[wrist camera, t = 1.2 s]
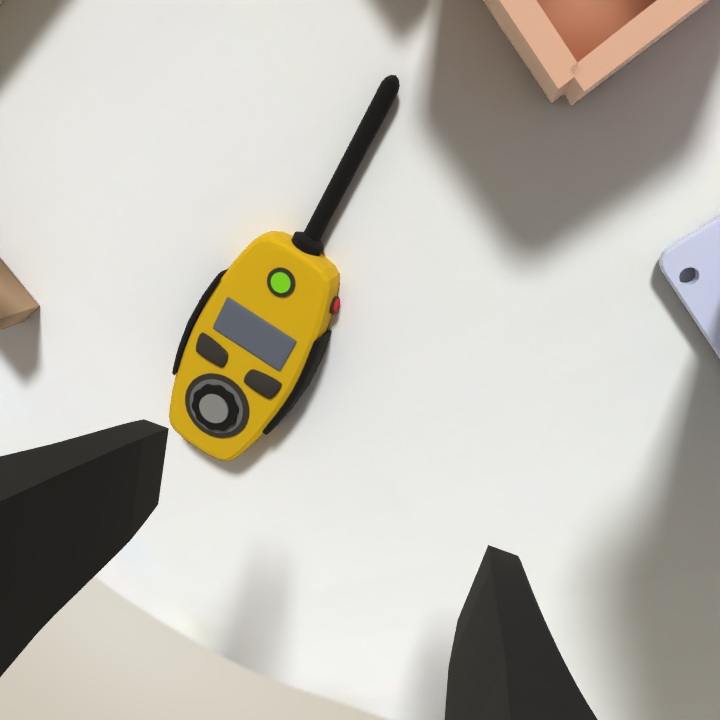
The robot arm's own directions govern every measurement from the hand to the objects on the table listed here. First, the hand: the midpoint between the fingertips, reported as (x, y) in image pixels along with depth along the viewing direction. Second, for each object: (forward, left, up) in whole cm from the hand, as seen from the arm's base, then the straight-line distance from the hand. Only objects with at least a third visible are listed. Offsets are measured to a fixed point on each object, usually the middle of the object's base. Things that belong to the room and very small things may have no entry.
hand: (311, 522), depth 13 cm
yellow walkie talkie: (+5, +1, -10) cm, 11 cm away
